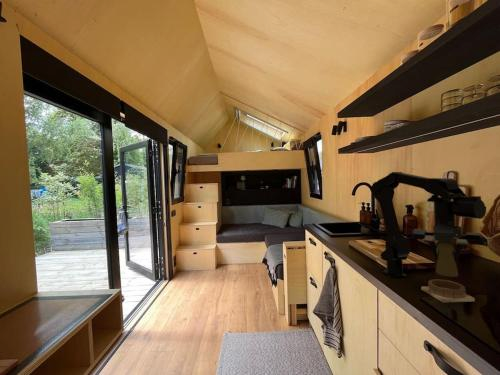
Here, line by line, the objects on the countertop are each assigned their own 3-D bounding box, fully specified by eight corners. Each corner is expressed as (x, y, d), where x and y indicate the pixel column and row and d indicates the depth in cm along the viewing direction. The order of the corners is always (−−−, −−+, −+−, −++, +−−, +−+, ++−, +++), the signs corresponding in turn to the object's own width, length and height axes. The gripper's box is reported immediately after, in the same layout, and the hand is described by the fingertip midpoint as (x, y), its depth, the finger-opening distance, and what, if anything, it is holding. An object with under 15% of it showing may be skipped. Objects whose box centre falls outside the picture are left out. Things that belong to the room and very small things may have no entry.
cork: (431, 271, 87) (430, 239, 87) (447, 269, 88) (446, 238, 88) (446, 277, 81) (445, 243, 81) (463, 275, 82) (462, 242, 82)
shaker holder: (421, 289, 89) (421, 279, 89) (449, 288, 89) (449, 278, 89) (442, 302, 79) (442, 291, 79) (474, 301, 79) (474, 290, 79)
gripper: (408, 217, 84) (409, 263, 85) (483, 220, 72) (485, 274, 72) (413, 213, 93) (414, 255, 93) (481, 215, 81) (483, 264, 81)
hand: (446, 261), depth 85 cm, fingers closed on cork, 4 cm apart
